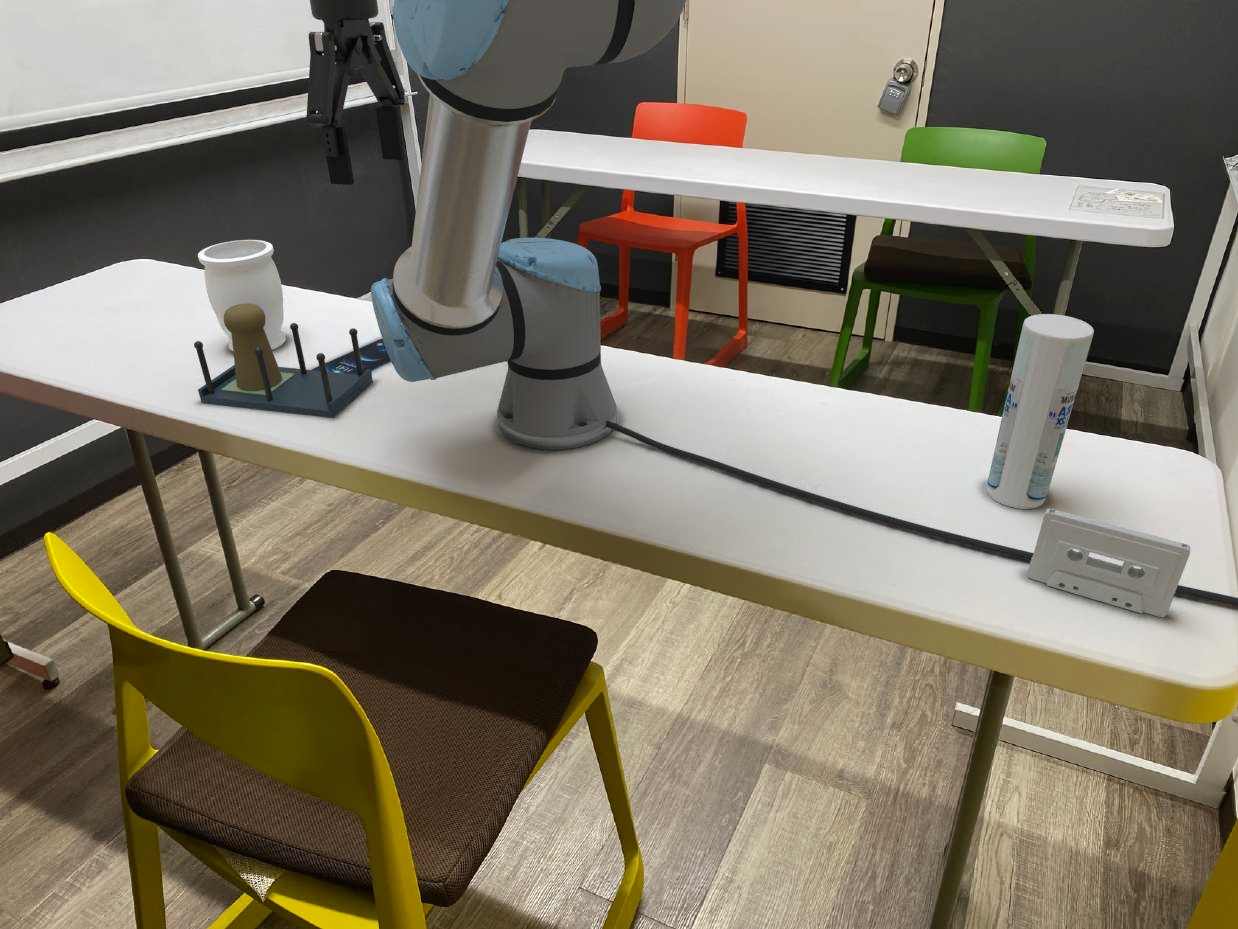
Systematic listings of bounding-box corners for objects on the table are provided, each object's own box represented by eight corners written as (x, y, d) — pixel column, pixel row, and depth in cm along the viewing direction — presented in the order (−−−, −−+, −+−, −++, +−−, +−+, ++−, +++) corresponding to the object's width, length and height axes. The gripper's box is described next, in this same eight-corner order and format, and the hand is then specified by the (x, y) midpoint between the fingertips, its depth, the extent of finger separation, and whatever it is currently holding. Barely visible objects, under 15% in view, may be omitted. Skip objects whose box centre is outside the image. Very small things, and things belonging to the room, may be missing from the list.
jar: (270, 360, 134) (247, 262, 126) (208, 355, 135) (181, 258, 128) (305, 333, 143) (286, 240, 135) (246, 329, 144) (224, 237, 137)
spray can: (993, 472, 104) (1032, 309, 94) (1053, 489, 101) (1100, 322, 90) (977, 498, 99) (1016, 328, 89) (1039, 516, 96) (1086, 343, 86)
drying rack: (373, 382, 127) (363, 325, 122) (333, 417, 118) (321, 357, 113) (248, 369, 131) (235, 314, 127) (201, 402, 122) (184, 344, 118)
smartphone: (419, 347, 137) (344, 382, 126) (419, 350, 137) (344, 386, 127) (383, 337, 141) (307, 370, 130) (383, 340, 141) (308, 374, 130)
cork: (229, 381, 125) (209, 306, 119) (270, 368, 128) (253, 295, 123) (248, 395, 121) (229, 318, 115) (290, 381, 125) (273, 306, 119)
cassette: (1166, 610, 83) (1193, 542, 79) (1165, 622, 81) (1191, 553, 77) (1028, 570, 88) (1046, 504, 84) (1025, 580, 87) (1043, 514, 83)
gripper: (362, -25, 114) (387, 149, 125) (247, -14, 93) (288, 193, 104) (417, -26, 112) (437, 151, 123) (312, -14, 91) (347, 196, 102)
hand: (369, 171), depth 113 cm, fingers open, 13 cm apart
